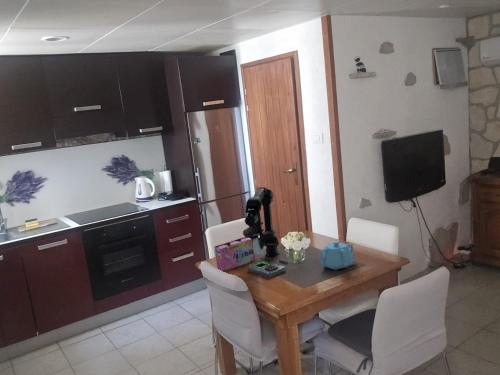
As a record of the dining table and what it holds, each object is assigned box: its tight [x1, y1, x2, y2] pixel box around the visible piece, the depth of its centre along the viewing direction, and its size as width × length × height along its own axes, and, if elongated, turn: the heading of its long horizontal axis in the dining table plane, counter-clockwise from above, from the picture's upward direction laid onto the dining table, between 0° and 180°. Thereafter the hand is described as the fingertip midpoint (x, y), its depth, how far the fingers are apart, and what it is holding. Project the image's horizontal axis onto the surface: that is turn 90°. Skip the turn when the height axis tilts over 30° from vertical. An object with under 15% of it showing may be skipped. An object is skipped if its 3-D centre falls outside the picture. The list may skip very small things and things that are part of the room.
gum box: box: [213, 236, 256, 272], centre depth 259 cm, size 24×8×14 cm, turn 125°
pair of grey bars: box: [272, 259, 289, 266], centre depth 251 cm, size 7×6×1 cm
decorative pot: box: [319, 241, 355, 271], centre depth 236 cm, size 16×16×14 cm
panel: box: [247, 260, 287, 279], centre depth 242 cm, size 12×18×3 cm, turn 40°
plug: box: [253, 238, 266, 255], centre depth 244 cm, size 4×4×8 cm
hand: (259, 248), depth 244 cm, fingers closed on plug, 4 cm apart
